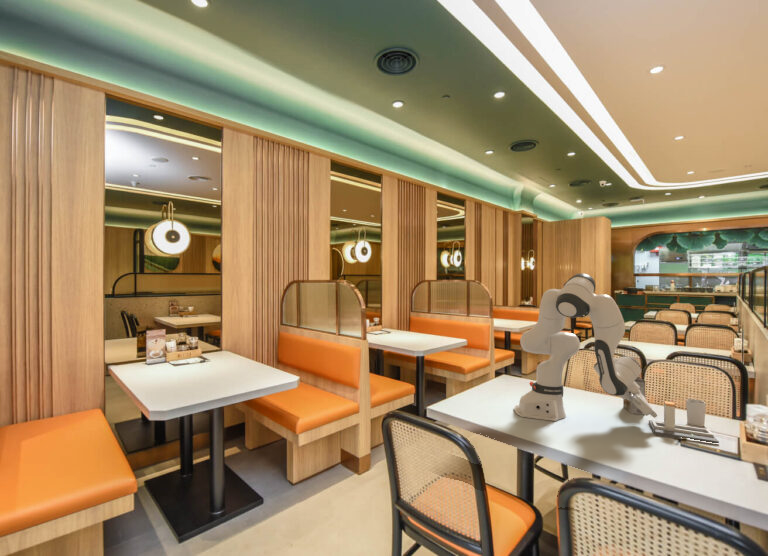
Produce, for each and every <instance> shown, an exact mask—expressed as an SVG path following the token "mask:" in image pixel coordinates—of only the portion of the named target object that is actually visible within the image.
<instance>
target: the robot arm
mask: <svg viewBox="0 0 768 556" xmlns="http://www.w3.org/2000/svg"><path fill="white" fill-rule="evenodd" d="M596 287H597V286H596V282H595V279H594V278H593V277H592V276H591V275H589V274H586V273H575V274H574V275H573V276H572V277H570V278H569V279H568V280H567V281H566V282H565V283H563V287H562V288H560V289H558V288H549V289H547V290H545V291H544V293H543V294H542V295H541V300H540V303H539V308H538V309H539V311H538V318H537V322H536V324H535V325H534V326H533V327H531V328H530V329H529V330H526V331H524V332H523V333H522V334H521V336H520V340H519V341H520V346H521V348H522V350H523V351H524V352H527V353H531V354H535V355H549V356H550V357H549V358H548V359H547V360H544V361H542V362H540V363H539V364H537V366H536V382H534V381H529V382H528V383H529V386H530V387H531V390H530V391H528V392H526V393H525V394H523V395H521V397H520V398H519V401H518V402H519V404H516V405H514V412H515V414H516V415H518V416H519V417H522V418H527V419H528V418H529V419H537V420H544V421H553V422H557V421H559V420H561V419H564V418H566V416H567V415H566V412H565V407H564V402H563V401H564V400H563V398H564V385H563V373H564V368H565V366H566V363H567V362H568V361H569V359H571V358H572V357H573V356H575V355H576V354H577V353H578V352H579V350H580V347H581V343H580V342H581V341H580V339H579V337H578V336H577V335H576V333H572V332H568V331H563V330H564V328H565V326H566V321H567V320H566V319H567V318H572V319H575V318H581V319H583V318H585V317H587V316H589V319H590V323H591V325H592V327H593V334H594V345H593V346H594V347H593V348H594V354H595V359H596V363H594V365H593V370H594V371H595V372H596V373H597V374H596V375H598V376H599V377H598V380H599V385H600V387H601V388H602V390H603V391H604V392H605V393H606V394H607V395H611V396H615V397H616V396H619V397H620V398H621V399H622V400H623V399H628V400H631V401H632V402H633V404H634V405H635V406H636V407H637V408H638V409H639V410H640V411H641V412H642V413H643V414H642V415H645V417H647V416H649V415H650V416H651V417H653V419H655V418H657V417H658V414H657V413H656V411H655V410H654V409H653V408H652V406H651V405H650V403H649V402H648V401H647V398H646V396H645V397H644V396H643V395H642V393H641V391H640V390H639V388H640V386H639V385H638V384H637V383H636V382H635V379H636V378H637V377H640V374H641V373H642V367H641V365H640V363H639V362H638V361H637V360H636V359H635V358H633V357H631V356H626V355H625V356H620V357H614V356H615V352H616V351H617V348H618V345H619V344H620V343H621V341H622V339H623V337H624V336H625V334H626V323H625V320H624V317H623V314H622V312H621V310H620V308H619V306H618V304H617V303H616V301H615V299H614V298H613V297H612V296H610V295H608V294H604V293H603V294H601V293H600V294H595V291H596Z"/></svg>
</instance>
